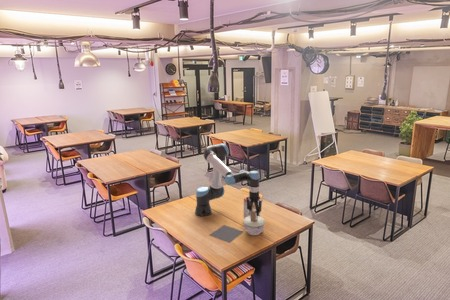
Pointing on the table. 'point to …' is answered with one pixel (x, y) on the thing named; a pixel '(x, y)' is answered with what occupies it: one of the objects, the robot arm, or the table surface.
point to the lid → (253, 220)
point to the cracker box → (246, 211)
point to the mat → (226, 233)
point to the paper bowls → (254, 230)
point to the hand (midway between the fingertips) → (254, 218)
